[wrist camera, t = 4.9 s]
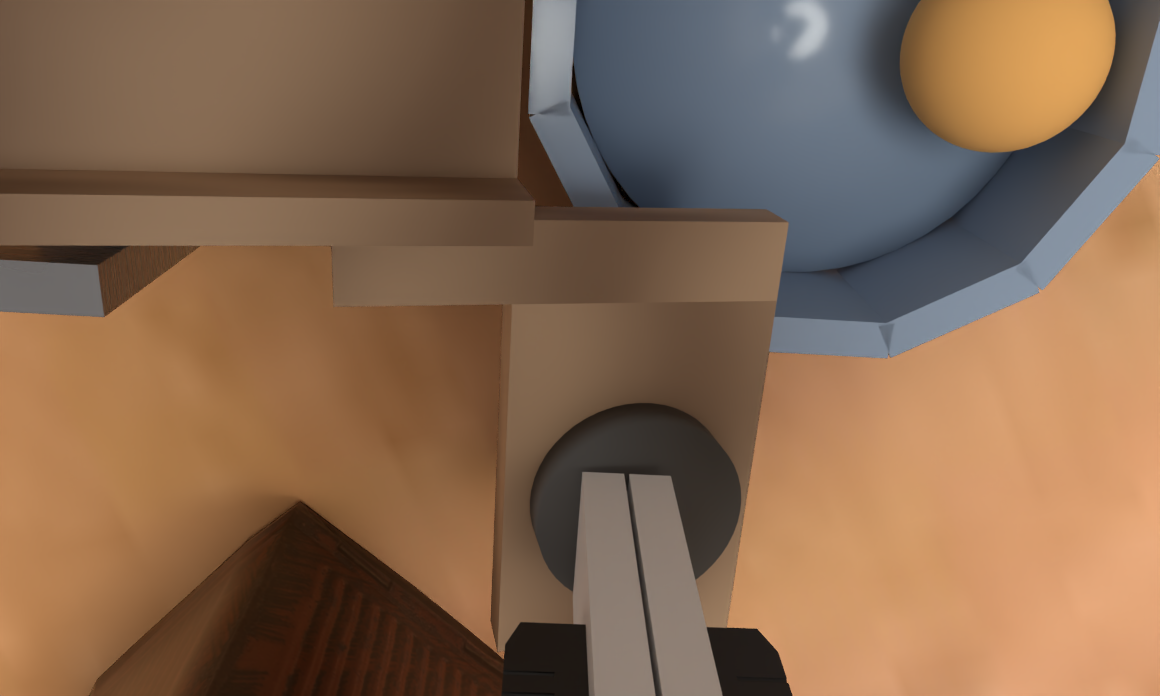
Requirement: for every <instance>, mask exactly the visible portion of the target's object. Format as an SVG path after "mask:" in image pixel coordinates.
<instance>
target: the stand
mask: <svg viewBox="0 0 1160 696" xmlns="http://www.w3.org/2000/svg"><path fill="white" fill-rule="evenodd" d="M198 247H200V246H78V245H0V311H2V312H20V313H39V314H57V315H75V316H94V317H105V316H106V315H108V314H109V313H110V312H112V311H113V310H114V309H116V308H117V307H119V306H120V305H121V304H123V303H124V302H125V301H127V300H128V299H129V298H131V297H132V296H133V295H135V294H136V293H137V292H139V291H140V290H141V289H143V288H144V287H146V286H147V285H148V284H150V283H151V282H152V281H154V280H155V279H156V278H158V277H159V276H160V275H162V274H163V273H164V272H166V271H167V270H168V269H170V268H171V267H173V266H174V265H175V264H177V263H178V262H179V261H181V260H182V259H183V258H185V257H186V256H187V255H189V254H190V253H191V252H193V251H194V250H196V249H197V248H198Z"/></svg>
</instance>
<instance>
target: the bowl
mask: <svg viewBox="0 0 1160 696" xmlns="http://www.w3.org/2000/svg"><path fill="white" fill-rule="evenodd" d="M920 1H921V0H533V15H532V37H531V59H530V82H529V104H528V114H530V115H529V119H530V121H531V123H532V125H533V127H534V129H535V131H536V133H537V135H538V137H539V139H540V141H541V143H542V145H543V147H544V149H545V151H546V153H547V155H548V157H549V159H550V161H551V163H552V165H553V167H554V169H555V171H556V173H557V175H558V177H559V179H560V181H561V183H562V185H563V187H564V189H565V191H566V193H567V195H568V197H569V198H570V200H571V202H572V204H573V206H574V207H631V208H637V207H636V206H634V205H633V204H631V203H630V202H628V201H627V200H625V199H624V198H622V196H621V194H620V192H619V190H618V188H617V186H616V184H615V182H614V179H613V177H612V175H611V173H612V174H613V176H614V177H615V178H616V180H617V181H618V182H619V184H620V185H621V186H622V188H623V189H624V190H625V192H626V193H627V194H628V196H629V197H630V198H631V199H632V200H633V201H634V202H635V203H636V204H637V205H638V206H639V207H640V208H714V209H767V210H769V211H770V212H772V213H774V214H775V215H777V216H779V217H781V218H782V219H784V220H786V221H787V222H789V225H788V232H787V238H786V245H785V251H784V258H783V264H782V271H781V277H780V284H779V290H778V297H777V303H776V310H775V316H774V323H773V329H772V336H771V342H770V349H769V352H780V353H799V354H817V355H835V356H854V357H872V358H888V355H889V356H890V357H894V356H896V355H898V354H900V353H903V352H905V351H907V350H910V349H912V348H914V347H916V346H919V345H921V344H923V343H925V342H928V341H930V340H932V339H935V338H937V337H939V336H941V335H944V334H946V333H948V332H951V331H953V330H955V329H957V328H960V327H962V326H964V325H967V324H969V323H971V322H973V321H976V320H978V319H980V318H983V317H985V316H987V315H989V314H992V313H994V312H996V311H998V310H1001V309H1003V308H1005V307H1008V306H1010V305H1012V304H1014V303H1017V302H1019V301H1021V300H1024V299H1026V298H1028V297H1030V296H1033V295H1035V294H1037V293H1039V289H1038V288H1040V289H1041V290H1043V289H1044V288H1045V287H1046V286H1047V285H1048V284H1049V282H1050V281H1051V280H1052V279H1053V278H1054V277H1055V276H1056V275H1057V273H1058V272H1059V271H1060V270H1061V269H1062V268H1063V267H1064V266H1065V264H1066V263H1067V262H1068V261H1069V260H1070V259H1071V258H1072V257H1073V255H1074V254H1075V253H1076V252H1077V251H1078V250H1079V249H1080V248H1081V246H1082V245H1083V244H1084V243H1085V242H1086V241H1087V240H1088V239H1089V237H1090V236H1091V235H1092V234H1093V233H1094V232H1095V231H1096V230H1097V228H1098V227H1099V226H1100V225H1101V224H1102V223H1103V222H1104V221H1105V219H1106V218H1107V217H1108V216H1109V215H1110V214H1111V213H1112V212H1113V210H1114V209H1115V208H1116V207H1117V206H1118V205H1119V204H1120V203H1121V201H1122V200H1123V199H1124V198H1125V197H1126V196H1127V195H1128V194H1129V192H1130V191H1131V190H1132V189H1133V188H1134V187H1135V186H1136V185H1137V183H1138V182H1139V181H1140V180H1141V179H1142V178H1143V177H1144V176H1145V174H1146V173H1147V172H1148V171H1149V170H1150V169H1151V168H1152V167H1153V165H1154V164H1155V163H1156V162H1157V161H1158V160H1159V158H1158V157H1157V156H1155V155H1160V0H1108V1H1109V4H1110V7H1111V10H1112V13H1113V17H1114V22H1115V32H1116V38H1115V50H1114V56H1113V60H1112V64H1111V68H1110V71H1109V73H1108V76H1107V78H1106V81H1105V83H1104V85H1103V87H1102V88H1101V90H1100V92H1099V94H1098V95H1097V97H1096V98H1095V100H1094V101H1093V102H1092V104H1091V105H1090V106H1089V108H1088V109H1087V110H1086V111H1085V112H1084V113H1083V114H1082V115H1081V116H1080V117H1079V118H1078V119H1077V120H1076V121H1075V122H1073V123H1072V124H1071V125H1070V126H1069V127H1067V128H1066V129H1064V130H1063V131H1062V132H1060V133H1058V134H1057V135H1055V136H1053V137H1052V138H1050V139H1048V140H1046V141H1044V142H1041V143H1039V144H1036V145H1033V146H1031V147H1028V148H1024V149H1020V150H1015V151H1010V152H997V153H988V152H979V151H972V150H968V149H965V148H961V147H958V146H956V145H953V144H951V143H949V142H947V141H945V140H943V139H942V138H940V137H938V136H937V135H936V134H934V133H933V132H932V131H930V130H929V129H928V128H927V127H926V126H925V125H924V124H923V123H922V122H921V121H920V120H919V118H918V117H917V115H916V114H915V112H914V111H913V109H912V108H911V106H910V104H909V102H908V100H907V98H906V95H905V92H904V89H903V85H902V80H901V75H900V51H901V44H902V40H903V36H904V32H905V29H906V27H907V24H908V22H909V19H910V17H911V15H912V13H913V11H914V10H915V8H916V6H917V5H918V3H919V2H920ZM573 61H574V69H575V76H576V84H577V89H578V93H579V96H580V100H581V104H582V108H583V112H584V116H585V119H586V121H587V123H586V121H585V119H584V117H583V115H582V113H581V111H580V109H579V107H578V104H577V102H576V100H575V98H574V96H573V94H572V92H571V83H572V66H573ZM587 124H588V125H587ZM588 126H589V127H588ZM590 131H591V132H590ZM605 162H606V163H605ZM606 164H607V165H606ZM607 166H608V167H607ZM608 168H609V169H610V171H611V173H610V171H609V169H608Z"/></svg>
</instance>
